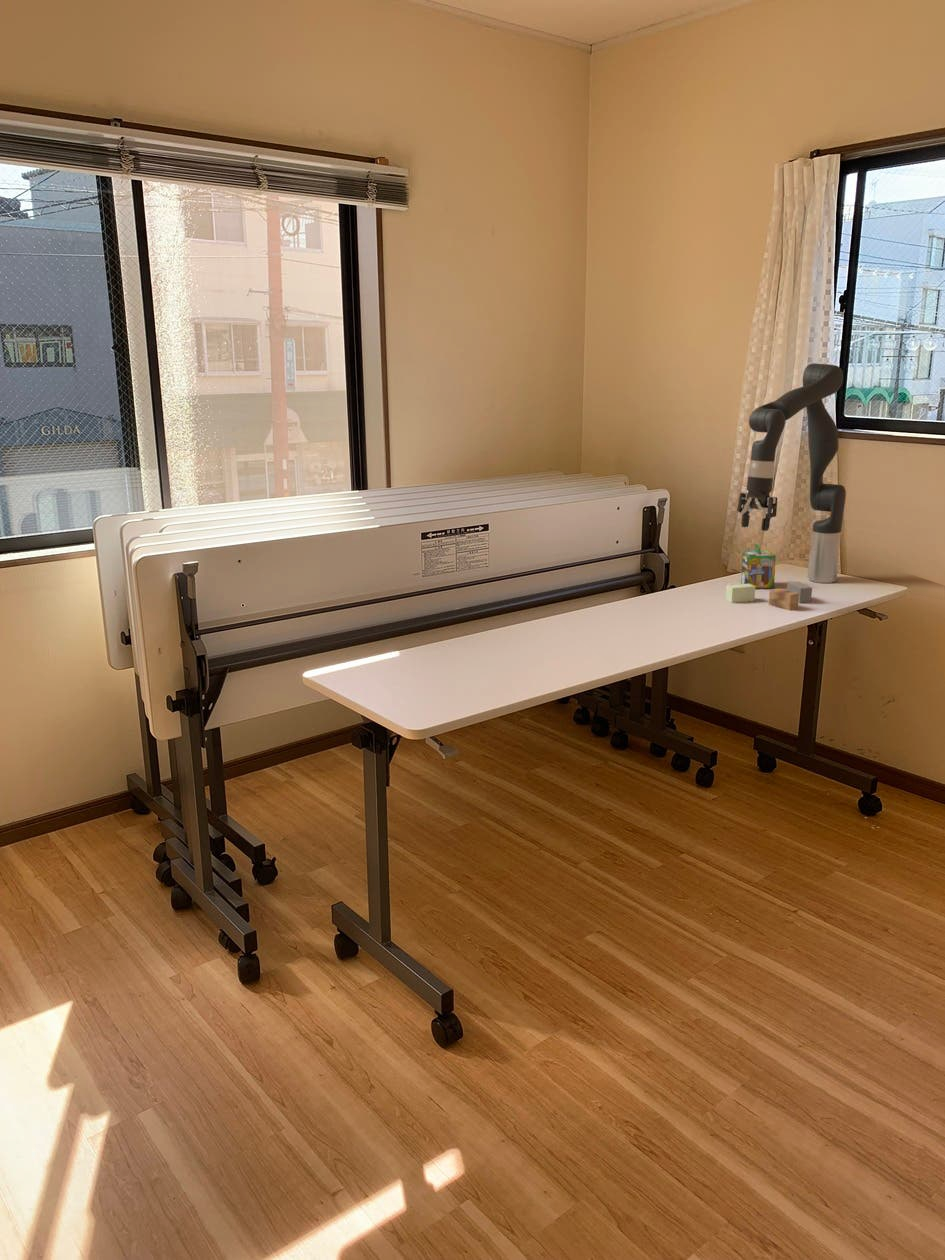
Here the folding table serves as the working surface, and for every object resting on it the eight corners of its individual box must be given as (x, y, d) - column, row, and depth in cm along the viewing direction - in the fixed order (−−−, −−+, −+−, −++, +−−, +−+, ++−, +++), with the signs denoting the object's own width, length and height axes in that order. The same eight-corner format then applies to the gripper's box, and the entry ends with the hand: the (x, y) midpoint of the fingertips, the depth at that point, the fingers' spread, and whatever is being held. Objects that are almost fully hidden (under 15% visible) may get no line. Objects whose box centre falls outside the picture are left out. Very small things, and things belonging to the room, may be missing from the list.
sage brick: (731, 603, 314) (732, 588, 312) (725, 600, 317) (726, 585, 316) (754, 601, 315) (755, 586, 314) (748, 598, 319) (749, 583, 318)
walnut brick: (768, 605, 310) (769, 590, 309) (777, 603, 312) (778, 588, 311) (789, 610, 304) (790, 595, 302) (797, 608, 306) (799, 593, 304)
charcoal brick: (786, 597, 319) (787, 582, 317) (797, 596, 320) (798, 581, 318) (799, 603, 311) (800, 588, 310) (810, 602, 312) (812, 587, 311)
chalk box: (774, 588, 330) (777, 545, 326) (747, 589, 330) (749, 546, 326) (766, 582, 339) (769, 540, 335) (740, 582, 339) (742, 540, 335)
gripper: (787, 478, 294) (780, 531, 298) (753, 473, 307) (747, 525, 310) (768, 477, 291) (761, 532, 294) (735, 473, 303) (729, 525, 307)
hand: (754, 528), depth 302 cm, fingers open, 8 cm apart
